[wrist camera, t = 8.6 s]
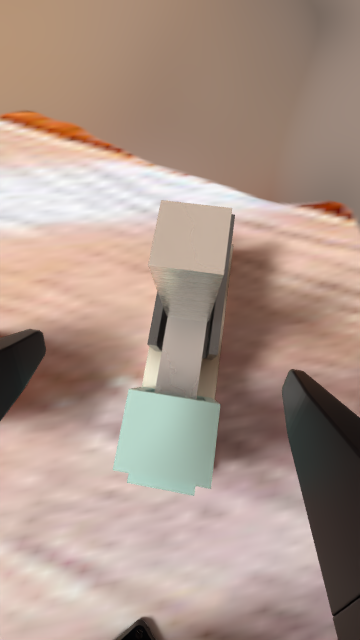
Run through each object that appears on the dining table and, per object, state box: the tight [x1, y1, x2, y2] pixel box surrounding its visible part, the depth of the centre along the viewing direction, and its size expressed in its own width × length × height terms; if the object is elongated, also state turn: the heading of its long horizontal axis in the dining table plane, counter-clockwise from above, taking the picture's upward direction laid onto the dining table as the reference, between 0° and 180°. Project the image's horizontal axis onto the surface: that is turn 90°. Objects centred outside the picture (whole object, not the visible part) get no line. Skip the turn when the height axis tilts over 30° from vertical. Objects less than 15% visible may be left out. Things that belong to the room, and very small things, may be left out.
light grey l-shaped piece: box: [148, 200, 232, 399], centre depth 14 cm, size 12×3×11 cm, turn 171°
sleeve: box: [148, 214, 235, 360], centre depth 20 cm, size 11×5×4 cm, turn 171°
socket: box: [113, 387, 221, 496], centre depth 17 cm, size 5×6×5 cm
